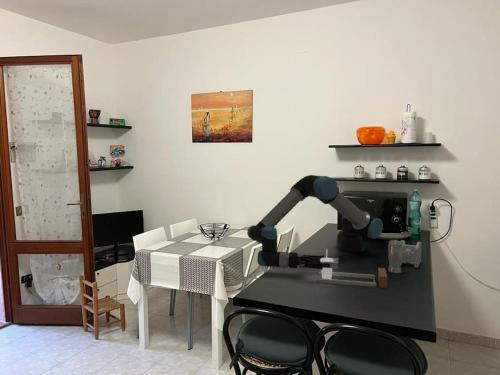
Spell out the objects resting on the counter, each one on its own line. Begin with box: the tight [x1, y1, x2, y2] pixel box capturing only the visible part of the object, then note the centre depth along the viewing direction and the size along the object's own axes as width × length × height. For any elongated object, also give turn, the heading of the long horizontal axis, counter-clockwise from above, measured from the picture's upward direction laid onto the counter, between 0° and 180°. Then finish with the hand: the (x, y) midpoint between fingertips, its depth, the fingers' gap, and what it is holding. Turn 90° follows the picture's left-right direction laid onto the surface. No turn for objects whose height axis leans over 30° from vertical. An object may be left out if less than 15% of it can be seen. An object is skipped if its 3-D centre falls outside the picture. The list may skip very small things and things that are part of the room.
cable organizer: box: [400, 239, 422, 269], centre depth 191 cm, size 15×11×12 cm
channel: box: [316, 267, 388, 289], centre depth 170 cm, size 30×12×5 cm, turn 74°
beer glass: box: [387, 240, 403, 274], centre depth 181 cm, size 7×7×15 cm
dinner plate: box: [376, 230, 411, 241], centre depth 251 cm, size 28×27×3 cm
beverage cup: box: [320, 248, 333, 279], centre depth 173 cm, size 6×6×14 cm
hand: (337, 263), depth 171 cm, fingers closed on beverage cup, 6 cm apart
